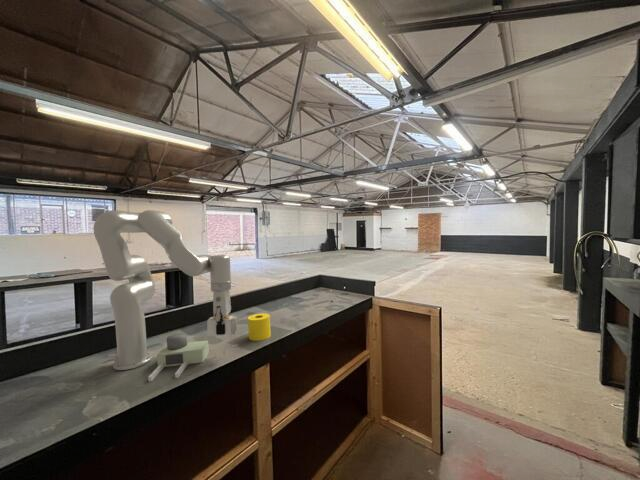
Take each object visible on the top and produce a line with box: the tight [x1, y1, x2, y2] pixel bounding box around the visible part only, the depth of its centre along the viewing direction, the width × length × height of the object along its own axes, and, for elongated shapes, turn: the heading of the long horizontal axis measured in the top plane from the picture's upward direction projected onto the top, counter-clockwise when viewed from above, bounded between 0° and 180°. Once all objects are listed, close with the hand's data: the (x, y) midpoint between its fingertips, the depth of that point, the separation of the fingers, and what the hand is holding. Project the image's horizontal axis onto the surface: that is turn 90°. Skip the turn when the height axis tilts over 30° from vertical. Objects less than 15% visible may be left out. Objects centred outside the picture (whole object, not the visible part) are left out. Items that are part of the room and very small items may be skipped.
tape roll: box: [247, 312, 272, 342], centre depth 126 cm, size 10×10×9 cm
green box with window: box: [147, 332, 210, 382], centre depth 101 cm, size 16×20×9 cm
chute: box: [206, 315, 237, 337], centre depth 107 cm, size 10×5×6 cm, turn 98°
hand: (222, 331), depth 107 cm, fingers closed on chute, 5 cm apart
